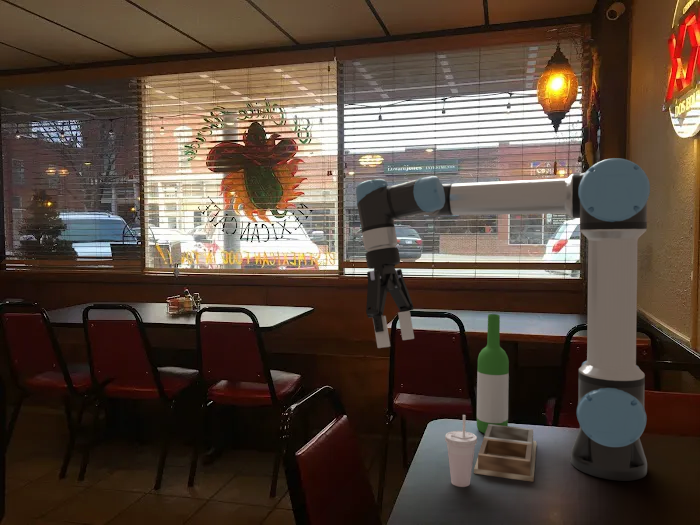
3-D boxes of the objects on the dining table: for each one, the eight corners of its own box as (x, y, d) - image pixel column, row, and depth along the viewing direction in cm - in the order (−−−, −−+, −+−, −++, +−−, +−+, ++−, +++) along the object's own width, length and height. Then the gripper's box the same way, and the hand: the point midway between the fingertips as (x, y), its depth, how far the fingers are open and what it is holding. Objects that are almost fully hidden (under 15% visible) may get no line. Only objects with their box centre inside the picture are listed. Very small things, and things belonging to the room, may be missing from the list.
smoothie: (476, 491, 112) (477, 421, 112) (443, 488, 114) (444, 419, 113) (476, 477, 119) (477, 411, 118) (445, 474, 120) (445, 409, 119)
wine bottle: (513, 431, 146) (515, 315, 144) (496, 438, 141) (498, 318, 139) (487, 423, 152) (489, 311, 150) (470, 430, 146) (471, 314, 145)
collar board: (536, 445, 136) (536, 429, 136) (533, 481, 117) (533, 462, 116) (485, 439, 140) (485, 423, 140) (473, 473, 121) (474, 454, 120)
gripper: (389, 252, 141) (403, 338, 139) (340, 251, 119) (356, 352, 117) (417, 247, 138) (431, 334, 136) (372, 244, 116) (389, 348, 114)
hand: (396, 343), depth 127 cm, fingers open, 13 cm apart
